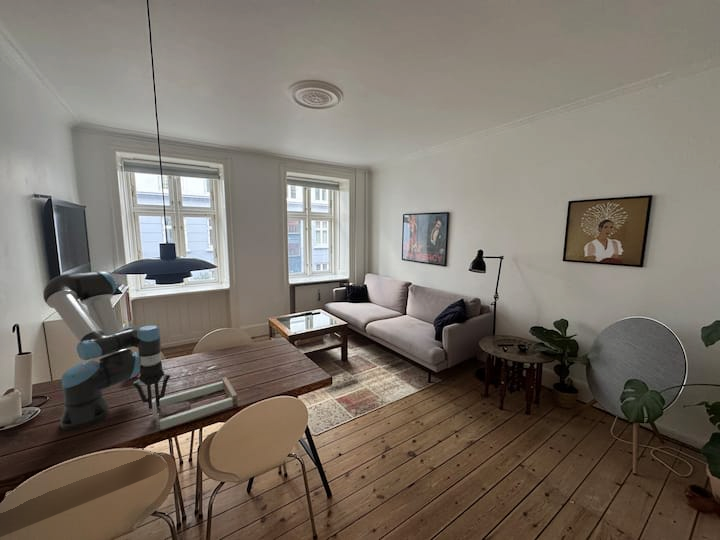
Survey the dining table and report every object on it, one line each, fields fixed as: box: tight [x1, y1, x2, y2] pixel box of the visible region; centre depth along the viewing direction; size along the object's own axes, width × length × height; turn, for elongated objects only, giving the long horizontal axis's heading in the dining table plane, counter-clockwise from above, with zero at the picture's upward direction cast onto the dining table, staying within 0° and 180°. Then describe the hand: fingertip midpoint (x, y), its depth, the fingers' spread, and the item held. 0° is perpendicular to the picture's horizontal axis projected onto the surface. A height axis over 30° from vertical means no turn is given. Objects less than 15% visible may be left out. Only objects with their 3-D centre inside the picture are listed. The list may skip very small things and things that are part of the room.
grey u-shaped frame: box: [157, 376, 238, 430], centre depth 135 cm, size 30×20×5 cm, turn 128°
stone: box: [158, 401, 192, 420], centre depth 127 cm, size 12×9×5 cm
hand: (154, 414), depth 125 cm, fingers closed
